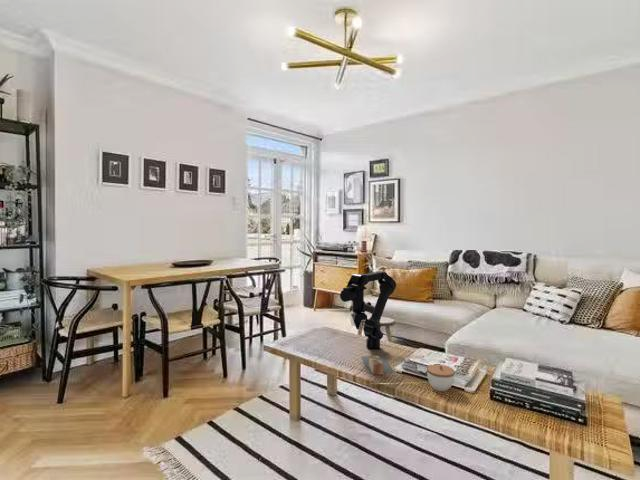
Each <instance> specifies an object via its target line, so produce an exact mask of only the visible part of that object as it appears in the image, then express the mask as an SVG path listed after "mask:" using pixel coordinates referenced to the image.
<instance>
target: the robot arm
mask: <svg viewBox="0 0 640 480" xmlns="http://www.w3.org/2000/svg"><path fill="white" fill-rule="evenodd" d="M375 281H377V283H378V285H379V289H378V290H379V295H378V298H377V300H376V303H375V306H374V305H372V303H371V301H367V302H365V300H364V299H365V290H367V289H368V288H367V287H366V285H367V284H369V283H370V282H375ZM396 288H397V283H396V280H395V279H394V278H393V277H391V276H390V275H389V274H388V273H387V272H386V271H382V270H378V271H373V272H369V273H352V274H351V276H350V278H349V281H348V283H347V284H346V287H343V289H342V290H341V292H340V294H339V298H340V300H341V302H343V303H345V302H351V303H352V304H351V305H350V306H349V309H348V310H349V312H350V313H351V312H352V313H351V314H350V315H351V318H352V321H353V323H354V327H355V329H356V330H360V328H361V324H362V321H365V322H364V324H363V325H362V326H363V327H362V330H363V334H364V336H365V337H366V339H365V340H366V341H365V347H366V348H367V349H368V350H369V351H375V350H376V351H378V350H380V351H381V340H382V339H383V338H384V332H382V330H381V327H382V325H381V318H382V316H383V313H384V310H385V308H386V305H387V303H388V301H389V300H388V299H389V297H390V296H391V295H392V294H393V293H394V292H395V290H396ZM367 313H370V314H371V316H370V318H368V315H367Z"/></svg>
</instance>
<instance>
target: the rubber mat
mask: <svg viewBox="0 0 640 480" xmlns="http://www.w3.org/2000/svg"><path fill="white" fill-rule="evenodd" d="M369 356H370V355H361V356H360V358H361V360H362V362H363V364H364V366H365V369H366V371H367V373H368V374H370V375H371V374H373V373H372V371H371V369H370V367H369ZM378 356H379V358H380V360H381V361H382V363H383V374H395V373H396V371H395V370H394V368H393V367H392V366H391V364H390V362H389V361H388V359H387V357H386V356H385V355H378Z"/></svg>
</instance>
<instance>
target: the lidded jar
mask: <svg viewBox="0 0 640 480" xmlns="http://www.w3.org/2000/svg"><path fill="white" fill-rule="evenodd" d="M455 374H456V372H455V369H454V368H452V367H450V366H449V365H445V364H441V363H440V364H434V365H430V366H428V367H427V380H428V382H429V385H430V386H431V387H432V388H433V390H435V391H438V392H446V391H449V389H450V388H451V387H452V386H453V384H454V381H455Z"/></svg>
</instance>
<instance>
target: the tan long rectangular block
mask: <svg viewBox="0 0 640 480" xmlns="http://www.w3.org/2000/svg"><path fill="white" fill-rule="evenodd" d="M368 356H369V367H370V369H371V371H372V373H371V374H372V375H373V376H375V375H384V373H383V363H382V361H381V360H380V358H379V356H380V355H368Z"/></svg>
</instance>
